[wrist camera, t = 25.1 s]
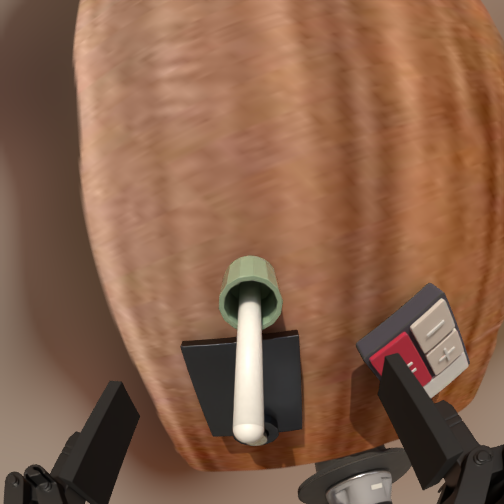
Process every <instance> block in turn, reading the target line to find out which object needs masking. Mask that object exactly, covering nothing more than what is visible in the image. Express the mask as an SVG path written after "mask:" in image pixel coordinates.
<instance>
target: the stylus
mask: <svg viewBox="0 0 504 504" xmlns="http://www.w3.org/2000/svg"><path fill="white" fill-rule="evenodd" d="M233 433H234V436H235V437H236V438H237V439H238V440H239V441H241V442H243V443H254V442H256V441H258V440H259V439H260V438H261V437H262V436H263V433H264V397H263V358H262V323H261V290H260V283H259V282H257V281H254V280H252V281H243V282H241V283H240V291H239V310H238V328H237V348H236V368H235V389H234V411H233Z"/></svg>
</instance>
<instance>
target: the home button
mask: <svg viewBox="0 0 504 504" xmlns="http://www.w3.org/2000/svg"><path fill="white" fill-rule="evenodd" d="M266 442H267V431H266V430H265V429H264V433H263V436H262V437H261V438H260V439H259V440H258V441H256V442H254V443H246V444H248V445H252V446H259V445H263V444H265V443H266Z"/></svg>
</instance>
